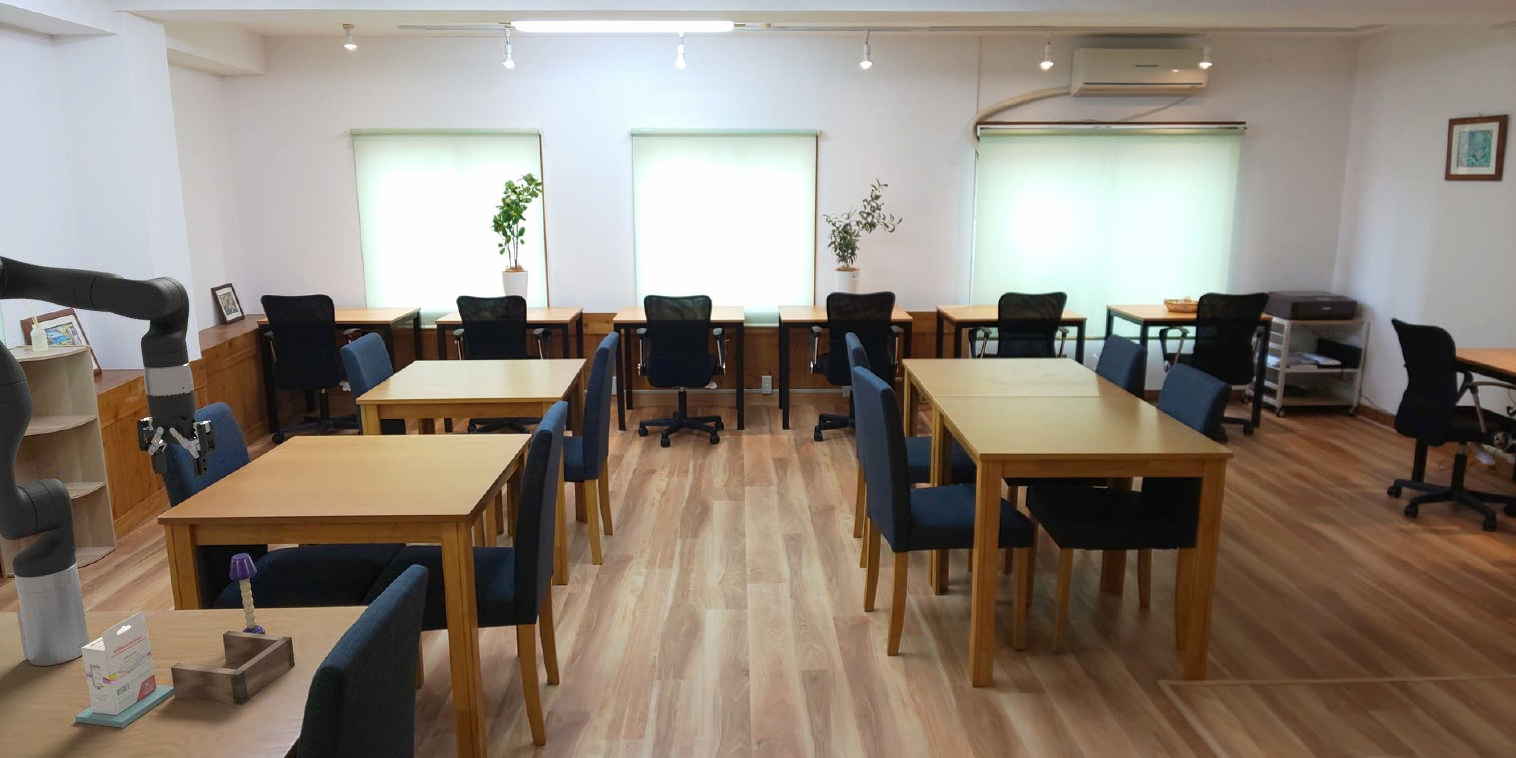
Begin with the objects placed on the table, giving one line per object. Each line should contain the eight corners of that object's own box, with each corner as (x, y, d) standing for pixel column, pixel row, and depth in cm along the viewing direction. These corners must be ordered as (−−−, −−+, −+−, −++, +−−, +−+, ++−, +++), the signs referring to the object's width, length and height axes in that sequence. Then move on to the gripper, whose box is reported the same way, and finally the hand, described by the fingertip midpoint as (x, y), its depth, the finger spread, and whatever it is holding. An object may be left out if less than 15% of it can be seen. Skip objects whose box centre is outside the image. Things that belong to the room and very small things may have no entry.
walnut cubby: (174, 696, 165) (170, 667, 164) (232, 658, 178) (228, 630, 177) (241, 704, 162) (238, 674, 161) (294, 664, 175) (291, 637, 174)
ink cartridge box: (133, 686, 166) (121, 607, 163) (157, 689, 165) (146, 609, 162) (90, 713, 158) (76, 630, 155) (115, 716, 157) (102, 633, 154)
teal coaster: (75, 721, 157) (75, 716, 157) (131, 687, 168) (130, 681, 168) (123, 727, 156) (122, 722, 155) (175, 692, 166) (175, 687, 166)
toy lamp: (248, 644, 183) (238, 561, 179) (231, 639, 185) (221, 557, 181) (270, 633, 187) (260, 552, 184) (253, 628, 189) (244, 548, 186)
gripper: (118, 391, 172) (131, 478, 175) (188, 395, 169) (199, 483, 173) (152, 383, 179) (164, 466, 183) (219, 386, 176) (229, 471, 180)
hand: (181, 474), depth 178 cm, fingers open, 8 cm apart
